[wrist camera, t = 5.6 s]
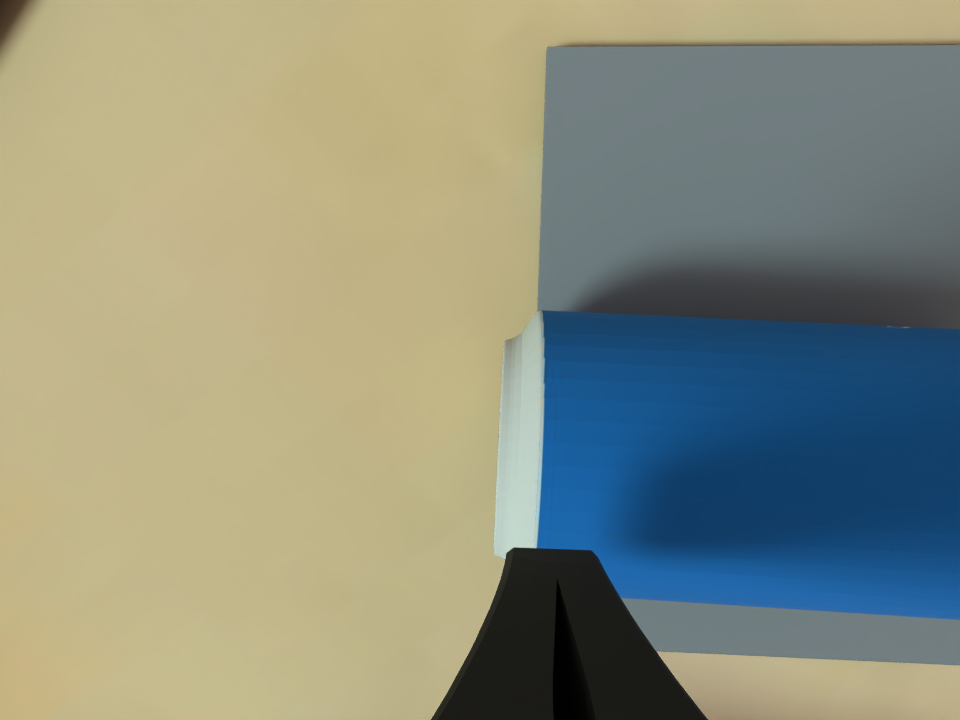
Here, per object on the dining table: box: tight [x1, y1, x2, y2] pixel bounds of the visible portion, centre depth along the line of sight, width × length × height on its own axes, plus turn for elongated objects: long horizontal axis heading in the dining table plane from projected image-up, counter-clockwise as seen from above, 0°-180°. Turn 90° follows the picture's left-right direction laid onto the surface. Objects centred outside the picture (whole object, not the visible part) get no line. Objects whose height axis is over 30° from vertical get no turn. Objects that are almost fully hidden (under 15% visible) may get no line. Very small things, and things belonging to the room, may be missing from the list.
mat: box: [537, 45, 960, 665], centre depth 18 cm, size 18×14×1 cm
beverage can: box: [494, 310, 960, 620], centre depth 14 cm, size 6×6×12 cm
